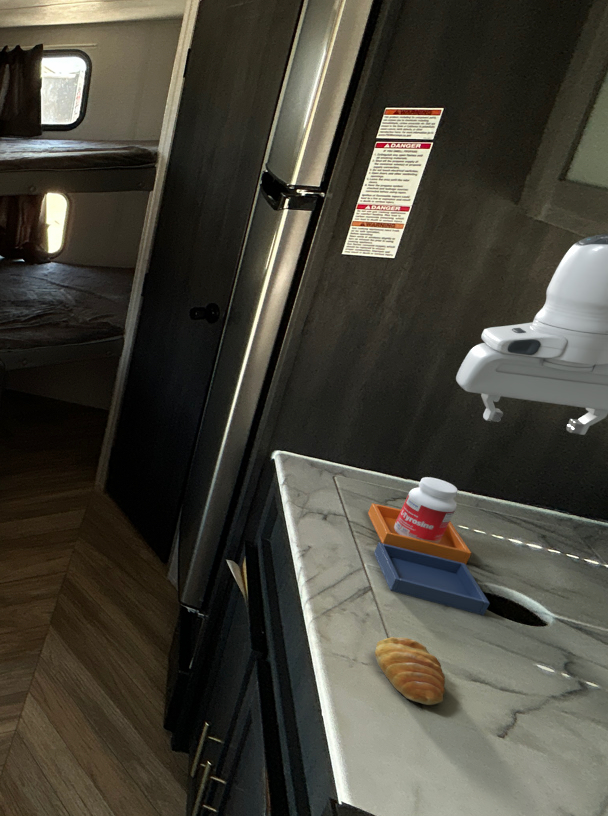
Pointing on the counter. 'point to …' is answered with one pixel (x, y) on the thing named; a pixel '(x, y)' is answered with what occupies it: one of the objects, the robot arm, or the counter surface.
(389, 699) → the counter surface
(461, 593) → the blue tray
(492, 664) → the counter surface
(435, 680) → the pastry
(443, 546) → the amber tray
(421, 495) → the pill bottle
